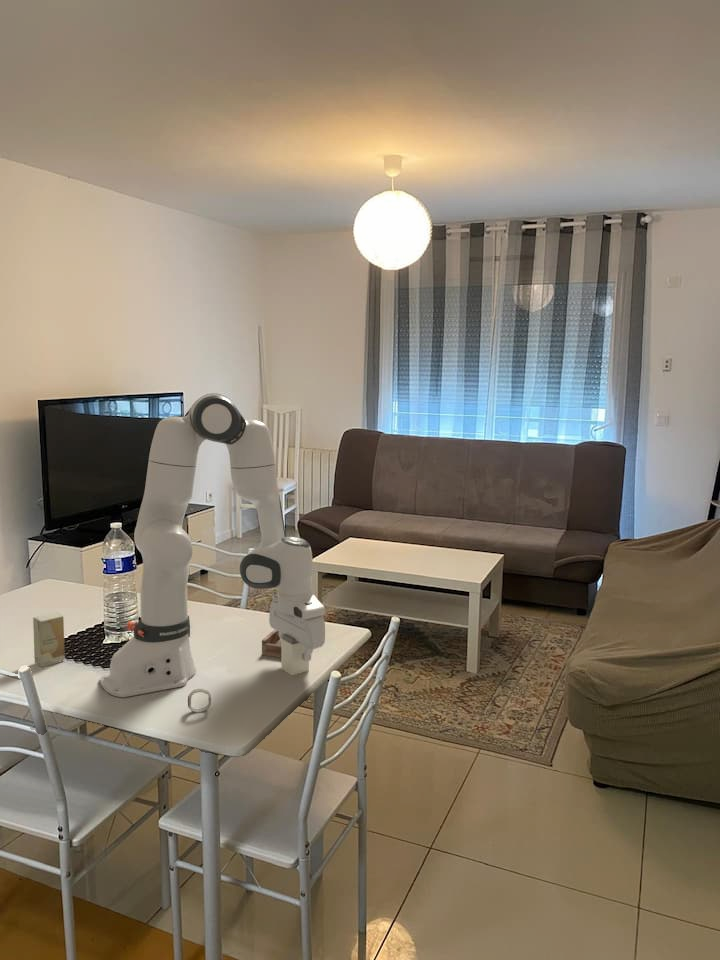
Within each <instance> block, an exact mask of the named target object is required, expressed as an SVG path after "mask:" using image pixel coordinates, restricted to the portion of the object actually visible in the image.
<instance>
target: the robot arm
mask: <svg viewBox="0 0 720 960" xmlns="http://www.w3.org/2000/svg"><path fill="white" fill-rule="evenodd" d="M206 440H207V441H210V442H213V443H221V444H225V445H226V448H227V450H228V454H229V465H230V466H229V467H230V476H231V482H232V485H233V488H234V491H235V493H236V494H237V495H238V496H239V497H240V498H241V499H243V500H245V501H247V502H250V503H251V504H252V505H253V506H254V507H255V509H256V512H257V516H258V517H257V518H258V523H259V529H260V534H261V535H260V536H261V541H260V543H259V546H258V547H257V548H255V549H253V550H252V551H250V552H249V553H248V554H246V555H245V556H244V557H243V558H242V559H241V561H240V564H239V574H240V577H241V579H242V581H243V582H244V583H245V585H247V586H248V587H250V588H252V589H256V590H261V589H262V590H264V589H272V588H276V589H277V592H276V593H275V594H274V595H273V596H272V598H271V599H272V602H271V603H270V607H269V616H268V617H269V620H268V621H269V623H268V624H269V625H270V628H272V629H273V630H277V631H278V635H279V637H280V640H281V639H283V634H287V635H289V636H291V637H293V638H294V639H295V640H296V641H297V642H299V643H301V644H303V645H304V649H305V652H304V653H302V659H303V660H304V661H306V662H307V661H309V662H310V661H311V660H312V654H313V651H314V650H315V649H318V648H322V647H323V646H324V645H325V642H326V622H325V618H324V615H325V614H326V608H325V605H323V604H322V602H321V601H320V600H319V599H318V598H317V596H316V595H315V594H314V587H313V582H312V578H313V575H314V563H313V562H314V561H313V552H312V547H311V545H310V543H309V542H308V541H307V540H305V539H304V538H301V537H297V536H287V534H286V528H285V521H284V514H283V507H282V501H281V497H280V493H279V486H278V477H277V468H276V467H277V465H276V455H275V449H274V448H275V447H274V444H273V443H274V442H273V439H272V435H271V432H270V429H269V427H268V425H266V424H265V423H264V422H262V421H260V420H257V419H245V418H244V416H243V415H242V413H241V412H240V410H239V409H238V407H237V405H235V403H233V400H231V399H230V398H229V397H227V396H226V395H224V394H221V393H217V392H216V393H215V392H214V393H213V392H212V393H207V394H205V395H202V396H201V397H199V398H197V400H195V402H194V403H193V404H192V406H191V407H190V408H189V410H188V411H187V412H186V413H185V415H184V416H175V415H174V416H173V415H171V416H167V417H164V418H162V419H161V420H159V421H158V423H157V426H156V428H155V430H154V434H153V438H152V441H151V444H150V451H149V455H148V464H147V472H146V480H145V485H144V486H145V487H144V491H143V492H144V493H143V497H142V501H141V504H140V508H139V512H138V516H137V521H136V526H135V528H134V533H133V534H134V537H133V540H134V545H135V547H136V549H137V551H139V553H140V554H141V557H142V564H143V565H142V575H141V576H142V579H141V585H140V588H139V596H140V619H139V622H137V623H135V622H134V621H133V620H131V621H127V623H126V628H127V629H128V630H129V631H131V632H133V636H132V637H131V638H130V639H129V640H128V641H127V642H126V643H125V644H124V645H123V646H122V647H121V648H119V649H118V650H117V651H116V652H114V654H113V655H112V656H111V660H110V665H109V671H106V672H104V673H102V674H101V676H100V686H101V687H102V688H103V690H105V692H107V693H109V694H110V695H111V696H113V697H114V696H115V697H117V698H127V697H131V696H133V697H134V696H138V695H144V694H147V693H148V694H149V693H153V692H159V691H164V690H170V689H174V688H180V687H184V686H185V685H186V684H187V682H188V681H189V680H190V678H192V677H193V676H194V675H195V674H196V671H197V669H196V666H195V663H194V659H193V657H192V656H193V655H192V650H191V646H190V645H191V643H190V637H191V622H190V621H191V620H190V616H189V614H188V582H189V580H188V579H189V575H190V567H191V559H192V558H193V557H192V556H193V544H192V541H191V538H190V535H189V534H188V533H187V532H186V531H185V530H184V529H183V524H184V523H183V522H184V518H185V515H186V512H187V508H188V506H189V503H190V502H191V500H192V498H193V493H194V492H193V491H194V485H195V475H196V469H197V461H198V460H197V459H198V455H199V449H200V447H201V445H202V444H203V442H205V441H206Z"/></svg>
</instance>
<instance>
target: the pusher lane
mask: <svg viewBox="0 0 720 960" xmlns="http://www.w3.org/2000/svg"><path fill="white" fill-rule="evenodd" d="M261 655H262V656H267V655H268V657H274V656H275V657H277V658H281V640H280V637H279V635H278V631H277V630H275V629H273V630H271V632H270V633H269V634H267V635H266V636H265V637H264V638H263V639H262V640H261Z"/></svg>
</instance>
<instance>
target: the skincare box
mask: <svg viewBox="0 0 720 960" xmlns="http://www.w3.org/2000/svg"><path fill="white" fill-rule="evenodd" d="M32 620H33V621H32V622H33V626H32V627H33V651H34V652H33V654H34V656H33V657H34V664H36V665H37V666H38V667H40V668H45V667H47V665H48V666H51V664H52V665H55V664H58V663H57V662H59V663H61V662H60V661H63V660H65V661H66V659H65V658H66V657H65V654H66V653H65V630H64V627H65V625H64V615H62V614H61V613H58V612H56V611H55V612H52V613H47V614H42V615H38V616H33V617H32ZM63 662H64V661H63ZM54 663H55V664H54ZM44 666H45V667H44Z"/></svg>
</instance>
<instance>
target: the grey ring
mask: <svg viewBox="0 0 720 960" xmlns="http://www.w3.org/2000/svg"><path fill="white" fill-rule="evenodd" d="M197 693H203V694H206V695H208V704H207V705H206V706H204V707H202V708H199V709H198V708H197V709H195V708H194V707H192V706H191V705H192V696H193V695H194V694H197ZM211 704H212V696H211V693H210V692H209V690H206V689H203V688H195V689H193V690H192V691H191V692H190V693H189V694H188V696H187V708H188V710H190V711H192V712H193V713H196V714H197V713H198V712H200V713H203V712H205V711H207V710H208V709H209V708H210V707H211ZM198 714H199V713H198Z"/></svg>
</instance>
